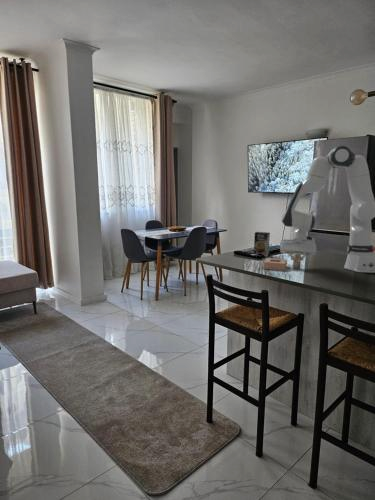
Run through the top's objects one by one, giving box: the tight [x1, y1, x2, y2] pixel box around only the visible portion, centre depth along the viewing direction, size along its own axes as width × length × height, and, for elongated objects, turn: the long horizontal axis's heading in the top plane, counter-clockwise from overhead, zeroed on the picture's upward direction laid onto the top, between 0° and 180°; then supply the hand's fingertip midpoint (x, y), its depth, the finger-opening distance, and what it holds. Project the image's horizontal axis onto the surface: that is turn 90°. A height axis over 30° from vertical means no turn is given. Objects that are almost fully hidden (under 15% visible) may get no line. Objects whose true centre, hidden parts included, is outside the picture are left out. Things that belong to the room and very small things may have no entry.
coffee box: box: [253, 231, 271, 258], centre depth 234 cm, size 9×6×16 cm
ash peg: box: [292, 253, 302, 270], centre depth 198 cm, size 4×4×9 cm
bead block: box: [262, 257, 288, 272], centre depth 202 cm, size 12×12×4 cm
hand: (297, 259), depth 198 cm, fingers closed on ash peg, 4 cm apart
